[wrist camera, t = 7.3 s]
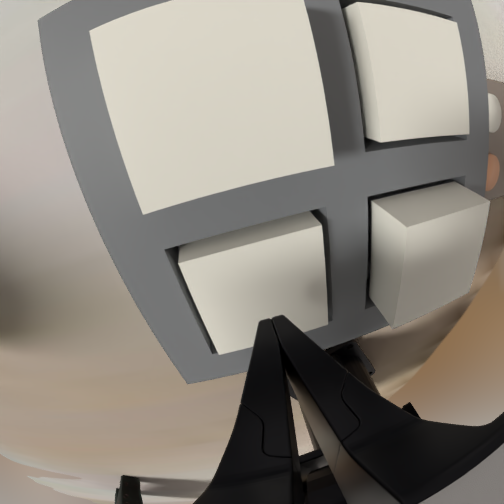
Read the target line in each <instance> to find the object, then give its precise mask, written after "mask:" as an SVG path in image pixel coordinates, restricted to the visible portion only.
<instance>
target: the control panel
mask: <svg viewBox="0 0 504 504" xmlns="http://www.w3.org/2000/svg"><path fill="white" fill-rule="evenodd" d="M168 1H171V0H72V1H70V2H68V3H66V4H64V5H62V6H61V7H59V8H57V9H55V10H54V11H52V12H50V13H49V14H47V15H45V16H44V17H42V18H40V19H39V20H38V26H39V34H40V42H41V48H42V54H43V60H44V65H45V70H46V75H47V80H48V85H49V89H50V93H51V97H52V101H53V105H54V109H55V113H56V116H57V120H58V123H59V127H60V130H61V134H62V137H63V140H64V143H65V146H66V149H67V152H68V155H69V158H70V161H71V164H72V167H73V170H74V172H75V175H76V178H77V180H78V183H79V186H80V188H81V191H82V193H83V196H84V198H85V201H86V203H87V206H88V208H89V210H90V213H91V215H92V217H93V220H94V222H95V224H96V226H97V229H98V231H99V233H100V235H101V237H102V239H103V242H104V244H105V246H106V248H107V250H108V252H109V254H110V256H111V258H112V260H113V262H114V264H115V266H116V268H117V270H118V272H119V274H120V276H121V278H122V279H123V281H124V283H125V285H126V287H127V289H128V291H129V292H130V294H131V296H132V298H133V300H134V301H135V303H136V305H137V307H138V308H139V310H140V312H141V313H142V315H143V317H144V318H145V320H146V322H147V323H148V325H149V327H150V328H151V330H152V332H153V333H154V335H155V336H156V338H157V340H158V341H159V343H160V344H161V346H162V347H163V349H164V351H165V352H166V354H167V355H168V357H169V358H170V360H171V361H172V363H173V364H174V366H175V367H176V368H177V370H178V371H179V373H180V374H181V376H182V377H183V378H184V380H185V381H186V383H187V384H191V383H196V382H202V381H207V380H212V379H216V378H221V377H226V376H230V375H234V374H239V373H243V372H247V371H248V367H249V363H250V358H251V354H252V349H253V347H250V348H246V349H242V350H238V351H234V352H229V353H225V354H221V355H219V354H218V352H217V350H216V348H215V346H214V344H213V341H212V339H211V337H210V335H209V333H208V331H207V329H206V326H205V324H204V322H203V320H202V318H201V315H200V313H199V311H198V309H197V307H196V304H195V302H194V300H193V297H192V295H191V293H190V291H189V288H188V286H187V283H186V281H185V279H184V276H183V274H182V272H181V269H180V267H179V264H178V260H179V249H180V245H182V244H186V243H189V242H193V241H196V240H200V239H204V238H207V237H211V236H215V235H218V234H222V233H226V232H229V231H233V230H237V229H241V228H244V227H248V226H252V225H256V224H259V223H263V222H267V221H271V220H275V219H279V218H283V217H287V216H290V215H294V214H298V213H302V212H306V211H310V212H311V213H312V214H313V215H314V217H315V218H316V219H317V220H318V221H319V222H320V223H321V225H322V232H323V243H324V256H325V270H326V286H327V306H328V325H325V326H322V327H319V328H316V329H313V330H309V331H306V332H304V333H305V334H306V335H307V336H308V337H309V338H310V339H311V340H313V341H314V342H315V343H316V344H317V345H318V346H319V347H321V348H322V349H326V348H329V347H332V346H335V345H338V344H341V343H344V342H347V341H349V340H352V339H355V338H358V337H360V336H363V335H366V334H368V333H371V332H373V331H376V330H378V329H381V328H383V327H386V326H388V325H389V323H388V322H387V321H386V319H385V318H384V316H383V315H382V314H381V312H380V311H379V309H378V308H377V307H376V305H375V304H374V302H373V301H372V300H371V298H370V297H369V286H370V268H371V235H372V209H371V201H372V200H376V199H380V198H384V197H388V196H393V195H397V194H401V193H406V192H410V191H414V190H419V189H423V188H427V187H432V186H436V185H441V184H445V183H450V182H454V181H455V182H457V183H458V184H460V185H462V186H464V187H466V188H468V189H470V190H471V191H473V192H475V193H477V194H479V195H480V196H482V197H485V189H486V180H487V169H488V153H489V104H488V89H487V78H486V69H485V62H484V55H483V49H482V43H481V38H480V33H479V29H478V24H477V20H476V16H475V12H474V8H473V5H472V1H471V0H304V3H305V7H306V11H307V14H308V18H309V22H310V26H311V31H312V35H313V39H314V43H315V48H316V53H317V57H318V62H319V67H320V72H321V77H322V83H323V88H324V94H325V100H326V106H327V113H328V119H329V126H330V133H331V141H332V149H333V157H334V166H330V167H325V168H320V169H315V170H310V171H306V172H301V173H296V174H292V175H287V176H283V177H279V178H274V179H270V180H266V181H262V182H258V183H254V184H250V185H246V186H242V187H238V188H234V189H230V190H226V191H223V192H219V193H215V194H212V195H208V196H204V197H201V198H197V199H194V200H190V201H187V202H183V203H180V204H177V205H173V206H170V207H167V208H163V209H160V210H157V211H154V212H151V213H148V214H144V215H143V213H142V211H141V208H140V206H139V203H138V200H137V198H136V195H135V192H134V189H133V187H132V184H131V181H130V178H129V175H128V172H127V170H126V167H125V164H124V161H123V158H122V155H121V152H120V149H119V145H118V142H117V139H116V136H115V133H114V129H113V126H112V123H111V119H110V116H109V112H108V109H107V105H106V101H105V98H104V94H103V90H102V86H101V82H100V78H99V74H98V70H97V66H96V61H95V57H94V52H93V47H92V42H91V37H90V32H89V31H90V30H92V29H94V28H96V27H99V26H101V25H103V24H105V23H108V22H110V21H113V20H115V19H117V18H120V17H123V16H125V15H128V14H131V13H133V12H136V11H139V10H142V9H145V8H148V7H151V6H154V5H157V4H161V3H164V2H168ZM356 2H363V3H372V4H379V5H386V6H392V7H397V8H403V9H408V10H412V11H417V12H421V13H425V14H429V15H433V16H437V17H440V18H444V19H447V20H450V21H453V22H456V23H457V25H458V30H459V35H460V40H461V45H462V51H463V57H464V63H465V71H466V79H467V90H468V103H469V134H464V135H448V136H435V137H424V138H414V139H405V140H397V141H389V142H378V141H375V140H372V139H369V138H366V137H364V135H363V126H362V117H361V109H360V101H359V94H358V88H357V81H356V75H355V70H354V64H353V59H352V54H351V49H350V44H349V39H348V35H347V30H346V26H345V22H344V18H343V14H342V10H341V9H343V8H345V7H347V6H349V5H352V4H354V3H356Z"/></svg>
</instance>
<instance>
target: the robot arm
mask: <svg viewBox="0 0 504 504" xmlns="http://www.w3.org/2000/svg"><path fill="white" fill-rule="evenodd" d="M374 373H375V369H374V368H373V366H372V364H371V363H370V361H369V360H368V359H367V357H366V356H365V354H364V353H363V351H362V350H361V348H360V347H359V345H358V344H357V342H356V341H355V340H354V339H352V340H349V341H347V342H344V343H341V344H338V345H336V346H334V347H332V348H331V349H329V350H328V351H326V352H325V351H324V350H323V349H322V348H321V347H319V346H318V345H317V344H316V343H315V342H314V341H313V340H311V339H310V338H309V337H308V336H307V335H306V334H305V333H304V332H302V331H301V330H300V329H299V328H298V327H297V326H296V325H294V324H293V323H292V322H291V321H290V320H289V319H288V318H287V317H285V316H284V315H278V316H274V317H272V319H270V318H267V319H264V320H260V321H259V322H258V326H257V331H256V336H255V340H254V345H253V349H252V354H251V358H250V363H249V367H248V372H247V376H246V381H245V385H244V389H243V394H242V398H241V404H240V406H239V410H238V415H237V418H236V422H235V425H234V429H233V431H232V434H231V437H230V440H229V442H228V445H227V447H226V450H225V452H224V455H223V457H222V459H221V462H220V464H219V466H218V469H217V471H216V473H215V475H214V478H213V479H212V481H211V483H210V485H209V486H208V487H207V489H206V490H205V491H204V492H203V493H202V495H201V496H200V497H199V498H198V499H197V500H196V501H195V502H194V503H193V504H504V412H503V413H502V414H501V415H500V416H499V417H497V418H496V419H495V420H494V421H492V422H491V423H489V424H486V425H483V426H464V425H456V424H448V423H440V422H433V421H427V420H423V419H421V418H420V417H419V415H418V414H417V412H416V410H415V409H414V407H413V406H412V404H411V403H410V402H409V403H408V404H406V405H404V406H403V408H402V409H401V408H400V407H398V406H396V405H395V404H393V403H391V402H389V401H388V400H386V399H385V398H383V397H382V396H381V395H380V393H379V392H378V390H377V388H376V386H375V384H374V382H373V380H372V378H371V375H373V374H374ZM290 396H291V397H293V398H294V399H296V400H298V402H299V405H300V408H301V411H302V414H303V417H304V420H305V423H306V426H307V429H308V432H309V435H310V438H311V441H312V445H313V448H314V451H312V452H309V453H306V454H304V455H301V456H299V455H298V448H297V441H296V434H295V427H294V420H293V413H292V406H291V400H290Z"/></svg>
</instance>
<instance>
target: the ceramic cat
mask: <svg viewBox="0 0 504 504" xmlns="http://www.w3.org/2000/svg"><path fill="white" fill-rule="evenodd" d="M115 504H143V501H142V497H141V492H140V481H139V479H138V478H134V477H128V476H121V481H120V488H119V489H116V493H115Z"/></svg>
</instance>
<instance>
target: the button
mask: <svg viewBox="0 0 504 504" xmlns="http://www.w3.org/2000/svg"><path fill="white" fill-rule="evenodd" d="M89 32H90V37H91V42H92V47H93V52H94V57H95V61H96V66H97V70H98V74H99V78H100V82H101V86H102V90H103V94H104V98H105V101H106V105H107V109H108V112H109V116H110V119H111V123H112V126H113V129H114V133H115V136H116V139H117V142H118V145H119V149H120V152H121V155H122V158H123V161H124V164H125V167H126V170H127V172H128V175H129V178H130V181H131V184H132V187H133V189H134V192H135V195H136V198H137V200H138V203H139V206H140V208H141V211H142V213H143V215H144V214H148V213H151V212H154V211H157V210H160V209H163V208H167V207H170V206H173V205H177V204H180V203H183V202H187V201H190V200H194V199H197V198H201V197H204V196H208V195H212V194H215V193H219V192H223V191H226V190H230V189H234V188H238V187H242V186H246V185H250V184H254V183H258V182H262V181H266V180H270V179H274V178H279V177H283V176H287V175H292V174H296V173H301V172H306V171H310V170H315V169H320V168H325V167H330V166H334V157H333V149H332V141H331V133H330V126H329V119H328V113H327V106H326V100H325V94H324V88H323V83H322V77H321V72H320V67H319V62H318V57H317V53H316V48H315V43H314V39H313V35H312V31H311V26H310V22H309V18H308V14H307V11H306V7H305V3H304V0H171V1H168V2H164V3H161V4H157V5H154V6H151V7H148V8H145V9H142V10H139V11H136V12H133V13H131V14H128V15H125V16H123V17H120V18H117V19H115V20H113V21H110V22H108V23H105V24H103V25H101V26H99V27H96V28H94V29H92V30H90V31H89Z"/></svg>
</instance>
